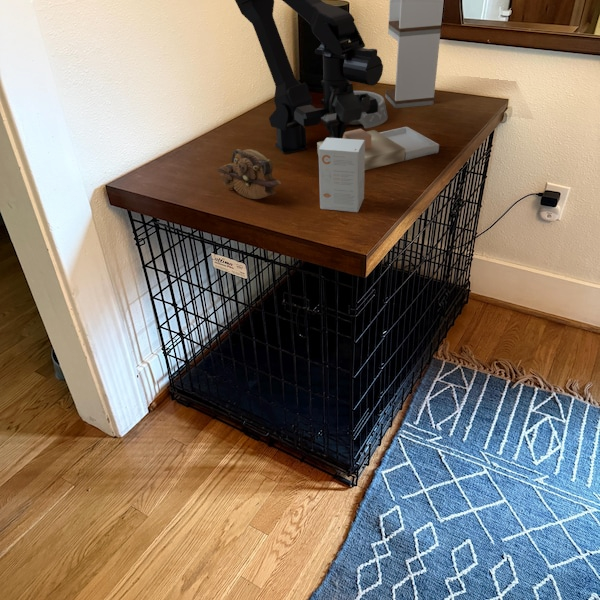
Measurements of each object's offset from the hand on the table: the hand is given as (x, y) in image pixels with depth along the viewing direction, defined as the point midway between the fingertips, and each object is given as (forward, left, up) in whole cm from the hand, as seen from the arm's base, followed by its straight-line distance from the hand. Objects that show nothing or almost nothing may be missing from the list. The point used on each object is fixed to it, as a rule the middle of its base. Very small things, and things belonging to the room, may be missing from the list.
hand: (336, 146), depth 131 cm
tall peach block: (+5, 0, -1) cm, 5 cm away
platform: (+6, 0, -4) cm, 7 cm away
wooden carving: (-24, -6, -4) cm, 25 cm away
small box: (-9, -19, -4) cm, 21 cm away
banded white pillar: (+39, +29, -4) cm, 49 cm away
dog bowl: (+19, +25, -5) cm, 32 cm away
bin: (+19, 0, -4) cm, 20 cm away
